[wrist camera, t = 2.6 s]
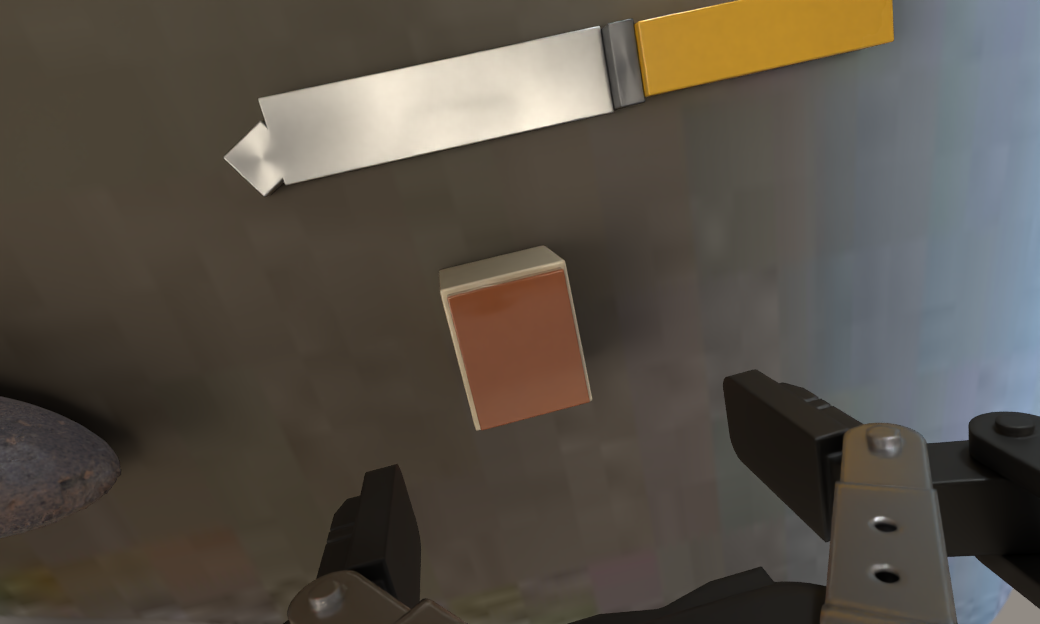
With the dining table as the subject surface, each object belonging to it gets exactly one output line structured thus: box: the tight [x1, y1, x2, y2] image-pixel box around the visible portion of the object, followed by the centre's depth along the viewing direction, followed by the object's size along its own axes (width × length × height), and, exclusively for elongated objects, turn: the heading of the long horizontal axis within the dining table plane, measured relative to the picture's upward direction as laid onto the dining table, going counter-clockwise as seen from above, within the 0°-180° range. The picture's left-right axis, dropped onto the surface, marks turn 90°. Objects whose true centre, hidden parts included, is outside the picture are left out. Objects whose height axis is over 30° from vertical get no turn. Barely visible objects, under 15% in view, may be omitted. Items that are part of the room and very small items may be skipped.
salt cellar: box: [439, 245, 592, 430], centre depth 24 cm, size 5×6×4 cm
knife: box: [223, 0, 894, 197], centre depth 23 cm, size 26×3×2 cm, turn 102°
